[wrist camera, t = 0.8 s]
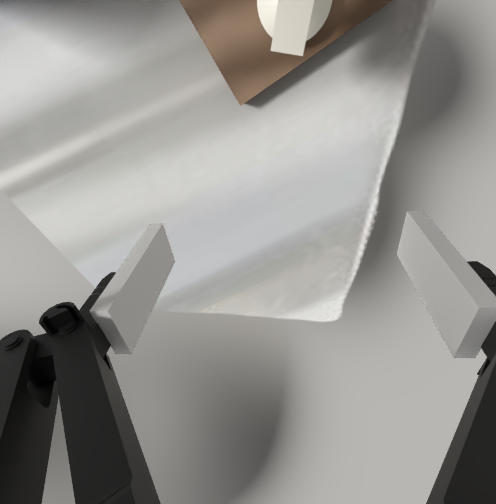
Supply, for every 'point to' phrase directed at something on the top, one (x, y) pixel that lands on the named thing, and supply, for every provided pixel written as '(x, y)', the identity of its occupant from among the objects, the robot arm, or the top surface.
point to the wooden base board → (263, 39)
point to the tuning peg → (292, 22)
